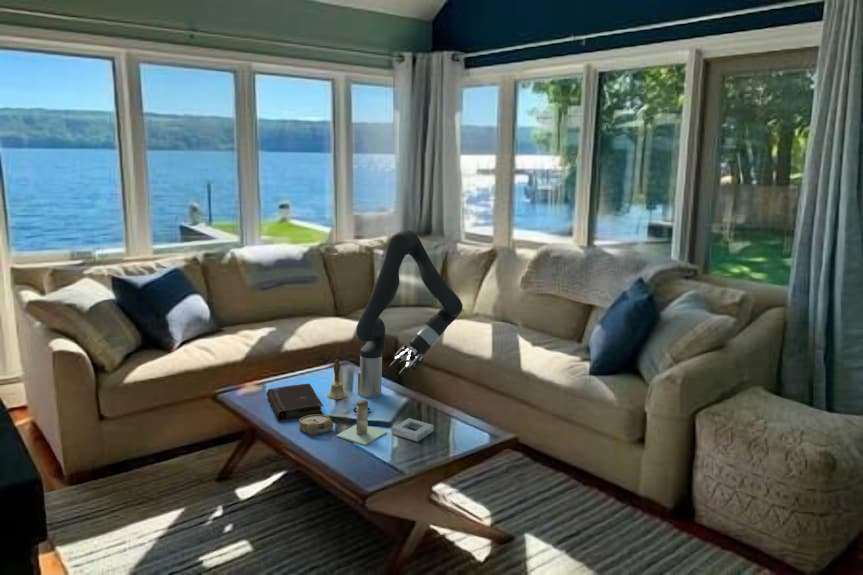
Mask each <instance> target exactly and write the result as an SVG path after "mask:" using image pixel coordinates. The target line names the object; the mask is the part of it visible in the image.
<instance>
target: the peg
mask: <svg viewBox="0 0 863 575" xmlns="http://www.w3.org/2000/svg"><path fill="white" fill-rule="evenodd" d="M368 406H369V401H367V400H364V399H360V400H357V401H356V407H357V415H356V424H355V425H356V434H357V435H361V436H363V435H366V434H367V426H369V425H368V421H369V420H368V417H369V415H368V414H369V413H368V408H369V407H368Z"/></svg>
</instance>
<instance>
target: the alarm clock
mask: <svg viewBox="0 0 863 575" xmlns="http://www.w3.org/2000/svg"><path fill="white" fill-rule="evenodd" d="M298 425H299V431H301V432H304V433H307V434H308V435H310V436H316V435H318V434H319V433H321V434H322V433H330V432H331V431H332V430H333V429H334V422H333V421H332V419H331V417H330V416H328V415H326V414H324V415H319V414H317V415H308V416H304V417H302V418H299V424H298Z"/></svg>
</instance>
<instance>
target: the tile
mask: <svg viewBox="0 0 863 575" xmlns="http://www.w3.org/2000/svg"><path fill="white" fill-rule="evenodd" d="M387 433H388V432H387V431H385V430H383V429H379V428H376V427H373V426H369V425H368V426H367V434H366V435H363V436H361V435H357V434H356V424H354V425H353V426H351V427H349V428H348V429H347V428H346V429H345V430H343V431H342V432H340V433H338V434H336V437H337V438H340V439H343V440H346V441H349V442H352V443H355V444H357V445H361V446H365V447H366V446H367V445H369V444H371V443H372V442H373V443H374V441H376V440H378V439H379V438H382V437H383V436H384V435H386V434H387Z"/></svg>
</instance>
